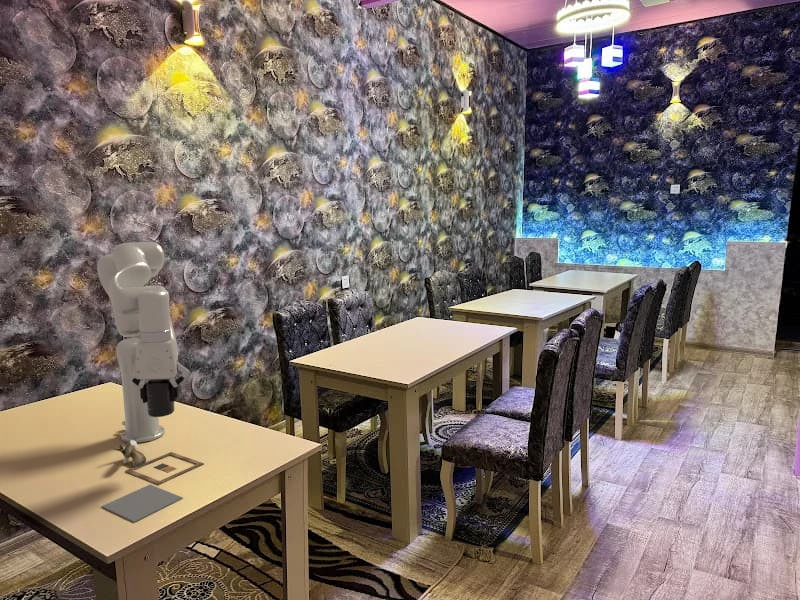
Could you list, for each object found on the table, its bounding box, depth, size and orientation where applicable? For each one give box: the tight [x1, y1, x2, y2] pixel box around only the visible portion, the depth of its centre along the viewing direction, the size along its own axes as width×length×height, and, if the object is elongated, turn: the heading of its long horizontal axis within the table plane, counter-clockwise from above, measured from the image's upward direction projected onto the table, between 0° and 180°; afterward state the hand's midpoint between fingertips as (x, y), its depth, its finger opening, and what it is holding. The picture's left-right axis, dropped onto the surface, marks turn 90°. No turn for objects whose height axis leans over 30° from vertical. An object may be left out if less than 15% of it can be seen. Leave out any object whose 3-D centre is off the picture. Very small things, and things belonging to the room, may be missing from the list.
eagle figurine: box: [111, 440, 147, 467], centre depth 162 cm, size 8×7×9 cm
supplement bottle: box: [145, 379, 175, 418], centre depth 156 cm, size 7×7×12 cm
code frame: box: [124, 451, 205, 486], centre depth 159 cm, size 14×14×1 cm
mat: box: [101, 484, 184, 524], centre depth 141 cm, size 13×13×1 cm
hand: (160, 400), depth 156 cm, fingers closed on supplement bottle, 6 cm apart
